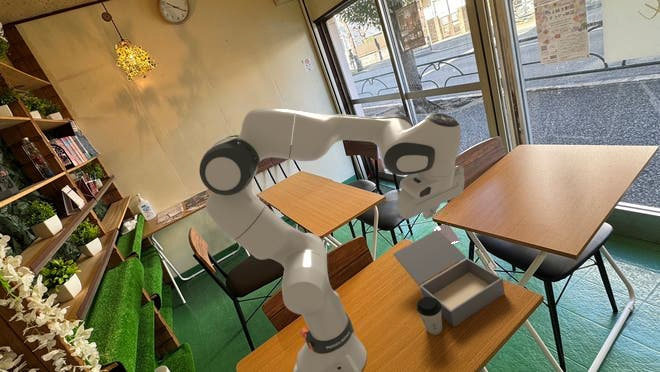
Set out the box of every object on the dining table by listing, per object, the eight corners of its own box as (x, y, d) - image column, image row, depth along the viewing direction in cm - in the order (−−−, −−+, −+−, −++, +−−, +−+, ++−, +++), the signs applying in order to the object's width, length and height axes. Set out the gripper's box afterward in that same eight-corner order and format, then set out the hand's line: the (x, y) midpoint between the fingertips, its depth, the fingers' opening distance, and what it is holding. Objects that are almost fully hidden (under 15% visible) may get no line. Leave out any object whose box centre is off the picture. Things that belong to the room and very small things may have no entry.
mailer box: (454, 327, 90) (450, 311, 88) (423, 300, 102) (419, 286, 100) (504, 293, 95) (502, 278, 93) (469, 271, 107) (466, 257, 105)
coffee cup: (448, 321, 92) (442, 295, 89) (444, 340, 87) (437, 314, 83) (425, 316, 96) (418, 292, 93) (419, 335, 91) (412, 309, 87)
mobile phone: (442, 245, 124) (431, 227, 138) (442, 247, 124) (431, 229, 138) (461, 240, 123) (448, 222, 137) (461, 242, 123) (448, 224, 137)
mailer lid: (393, 253, 110) (393, 254, 110) (418, 284, 101) (418, 285, 101) (437, 229, 115) (437, 230, 116) (465, 256, 106) (465, 257, 106)
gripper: (455, 157, 84) (448, 197, 92) (394, 183, 77) (392, 223, 85) (474, 168, 79) (464, 208, 87) (411, 196, 72) (407, 237, 81)
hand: (428, 216), depth 86 cm, fingers closed
